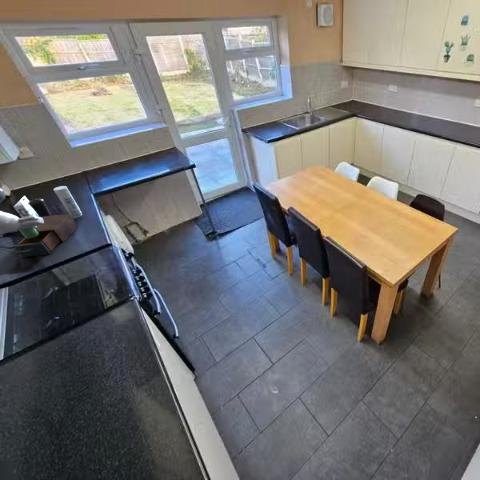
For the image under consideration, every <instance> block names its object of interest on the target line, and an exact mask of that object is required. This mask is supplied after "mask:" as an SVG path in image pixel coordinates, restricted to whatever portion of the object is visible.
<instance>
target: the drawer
mask: <svg viewBox="0 0 480 480" xmlns="http://www.w3.org/2000/svg"><path fill="white" fill-rule="evenodd" d="M38 233H39V234H38V235H37V236H35V237H33V238H29V239H27V238H26V237H25V236H24V238H22V239H21V240H20V241H19V242H18V243H17V244H14V245H13V248H14V250H15V255H21V257H22V258H23V257H24V258H26V257H35V256H42V255H43V256H45V255H51V254H52V251H53V250H54V249H55V248H56V247H57V246H58V244H60V243H59V242H60V241H61V240H60V239H59V238H58V237H57V235H56V234H55V233H54V232H53V231H47V232H38Z"/></svg>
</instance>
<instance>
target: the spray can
mask: <svg viewBox="0 0 480 480" xmlns="http://www.w3.org/2000/svg"><path fill="white" fill-rule="evenodd" d="M53 191H54V194H55V195H56V196H57V197H58V199H59V201H60V202H61V204H62V205H63V208H64V209H65V210H66V212H67V214H70V215H71V217H72V218H73V219H76V218H80V217H81V216H83V212H82V211H81V209H80V207H79V205H78V203H77V202H76V200H75V199H74V197H73V195H72V194H71V191H70V190H69V189H68V186H66V185H59V186H57V187H55V188H53Z"/></svg>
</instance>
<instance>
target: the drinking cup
mask: <svg viewBox="0 0 480 480" xmlns="http://www.w3.org/2000/svg"><path fill="white" fill-rule="evenodd" d="M28 193H29V195H30V196H31V198H32V200H29V203H28V204H29V205H30V206H31V207H32V208H33V209H34V211H35V212H36V213H37V214H38V215H39V216H38V217H41V218H42V217H43V216H53V215H52V213H51V211H50V209H49V207H48V205H47V204H46V202H45V199H44V198H35V197H34V195H33V194H32V192H31V191H29V192H28Z"/></svg>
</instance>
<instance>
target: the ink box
mask: <svg viewBox="0 0 480 480" xmlns="http://www.w3.org/2000/svg"><path fill="white" fill-rule="evenodd" d="M29 202H30V200H29V199H28V198H27V197H26V195H23V196H22V198H20V200H18V201H17V203H15V204H14V205H13V208H14V209H15V211H16V212H17V213H18V214H19V216H20V218H22V217H27V216H37V217H40V216H39V215H38V214H37V213H36V212H35V211H34V209H33V208H32V207H31V206H30V205H29V204H28V203H29Z"/></svg>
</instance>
